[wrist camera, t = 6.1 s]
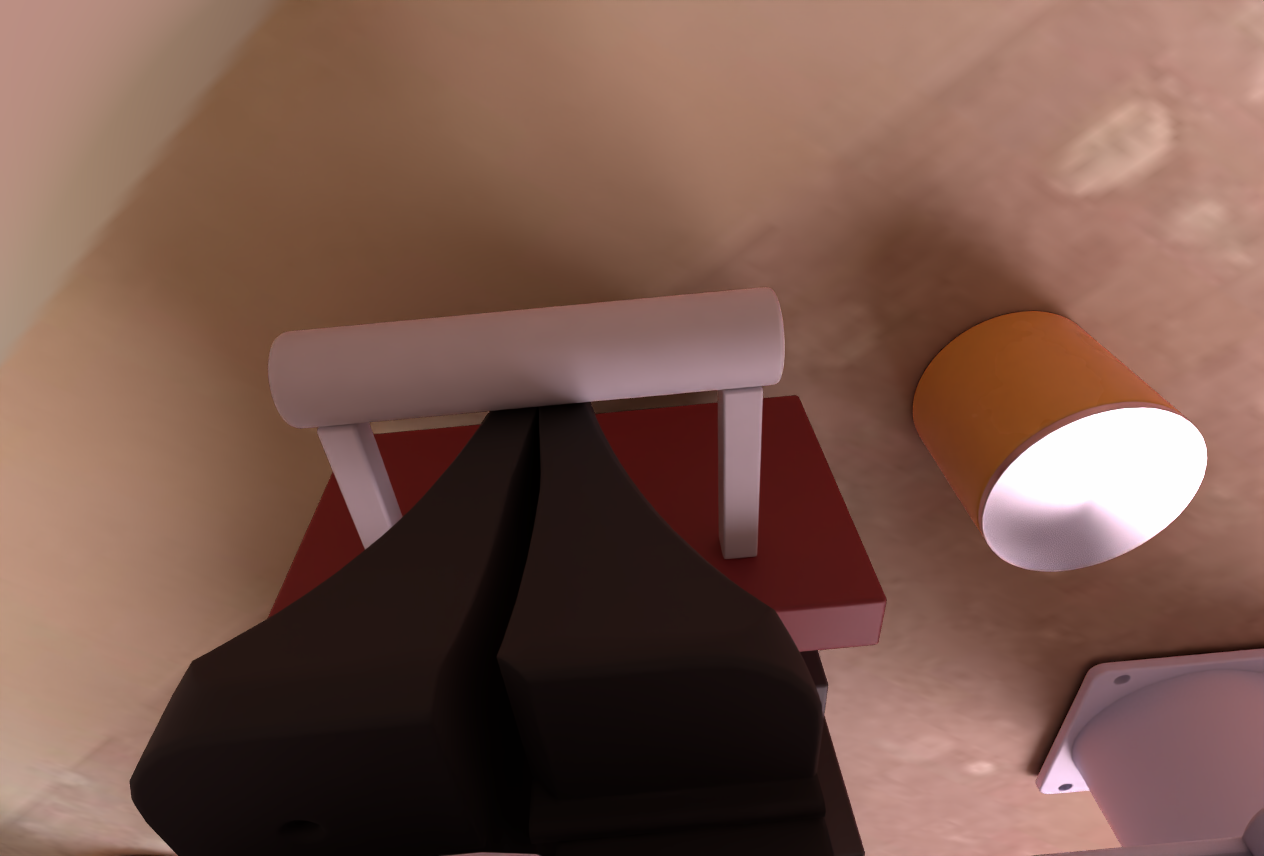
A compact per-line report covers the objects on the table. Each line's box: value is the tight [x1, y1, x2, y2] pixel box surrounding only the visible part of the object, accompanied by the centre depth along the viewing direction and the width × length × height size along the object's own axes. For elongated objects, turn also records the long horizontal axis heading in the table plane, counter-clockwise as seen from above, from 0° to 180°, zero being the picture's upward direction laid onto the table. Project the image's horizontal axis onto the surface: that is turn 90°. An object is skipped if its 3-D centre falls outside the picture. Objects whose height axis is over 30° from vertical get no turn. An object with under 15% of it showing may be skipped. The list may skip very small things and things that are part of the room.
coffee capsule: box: [913, 311, 1207, 572], centre depth 16 cm, size 4×4×4 cm
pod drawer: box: [267, 287, 887, 720], centre depth 17 cm, size 18×10×6 cm, turn 4°
